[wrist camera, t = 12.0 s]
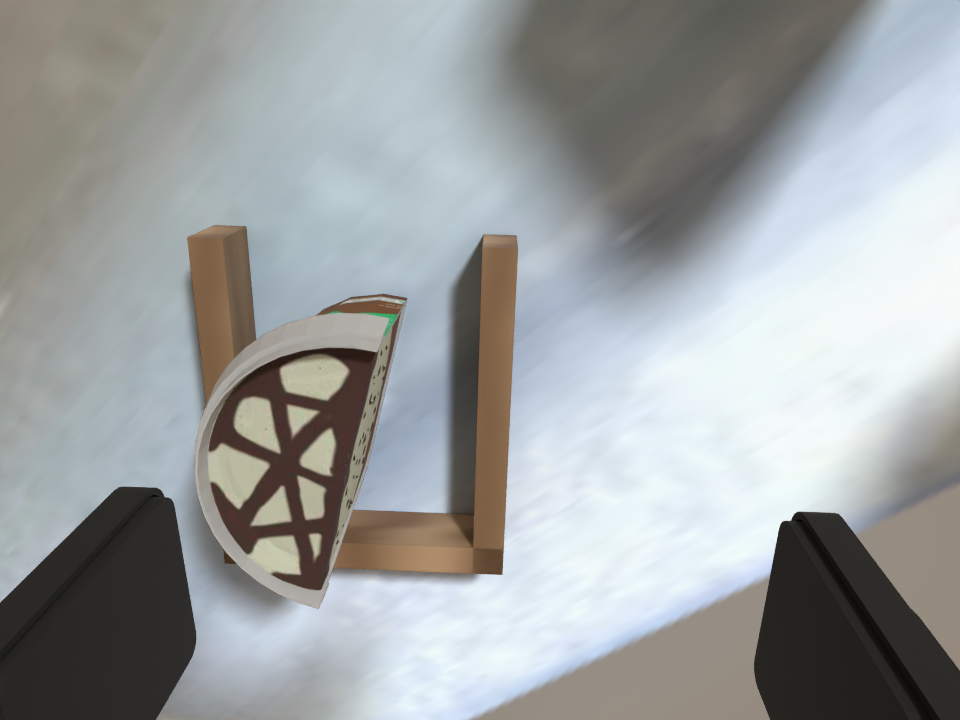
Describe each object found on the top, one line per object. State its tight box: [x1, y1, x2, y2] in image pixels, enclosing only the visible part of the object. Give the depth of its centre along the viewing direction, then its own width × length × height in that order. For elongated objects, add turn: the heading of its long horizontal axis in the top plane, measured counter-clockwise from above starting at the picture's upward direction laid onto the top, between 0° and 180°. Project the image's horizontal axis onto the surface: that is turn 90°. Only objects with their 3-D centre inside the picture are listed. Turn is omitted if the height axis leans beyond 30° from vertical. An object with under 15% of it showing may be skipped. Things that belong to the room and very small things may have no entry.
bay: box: [187, 225, 518, 575], centre depth 34 cm, size 14×16×3 cm
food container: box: [194, 294, 407, 609], centre depth 30 cm, size 12×6×10 cm, turn 165°
